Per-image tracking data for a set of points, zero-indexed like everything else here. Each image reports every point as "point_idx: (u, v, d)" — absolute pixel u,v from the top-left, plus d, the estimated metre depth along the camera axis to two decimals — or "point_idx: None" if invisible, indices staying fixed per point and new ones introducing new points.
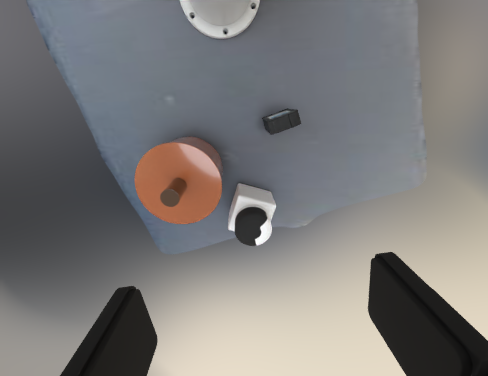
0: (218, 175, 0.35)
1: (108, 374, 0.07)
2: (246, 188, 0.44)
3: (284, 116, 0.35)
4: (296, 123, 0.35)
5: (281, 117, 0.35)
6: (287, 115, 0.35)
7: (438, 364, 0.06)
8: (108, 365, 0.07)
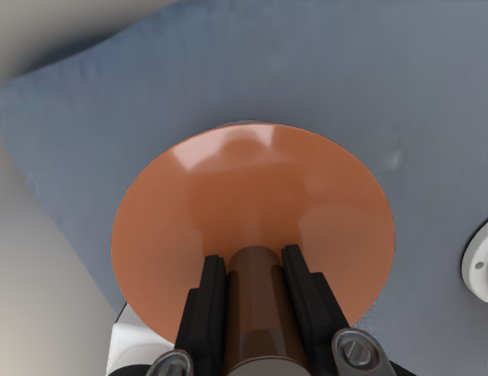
0: None
1: (221, 320, 0.08)
2: None
3: None
4: None
5: None
6: None
7: (301, 333, 0.07)
8: (220, 313, 0.08)
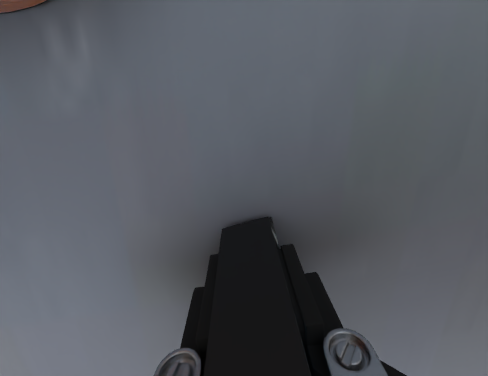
0: None
1: None
2: None
3: None
4: None
5: None
6: None
7: None
8: None
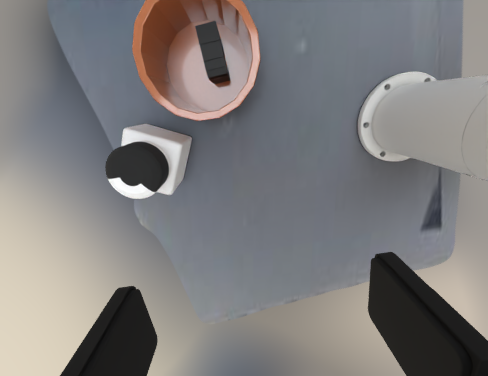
0: None
1: (108, 374, 0.07)
2: (187, 150, 0.33)
3: (220, 50, 0.24)
4: (209, 68, 0.24)
5: (219, 45, 0.23)
6: (221, 55, 0.24)
7: (438, 364, 0.06)
8: (108, 365, 0.07)
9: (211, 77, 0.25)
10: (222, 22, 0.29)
